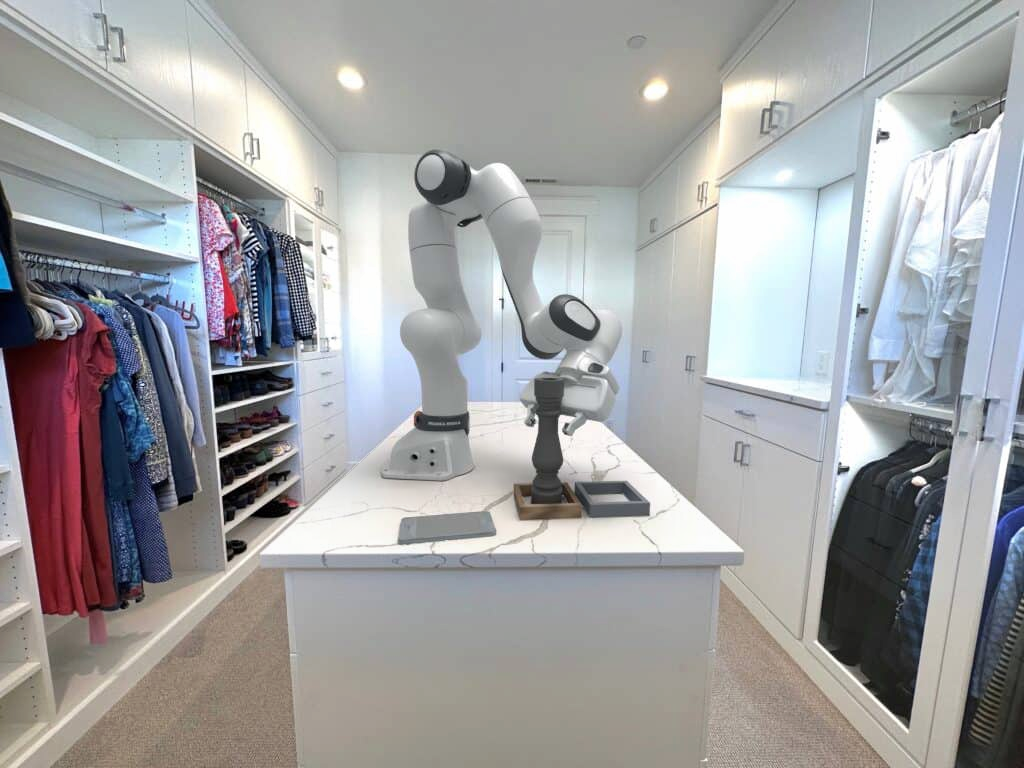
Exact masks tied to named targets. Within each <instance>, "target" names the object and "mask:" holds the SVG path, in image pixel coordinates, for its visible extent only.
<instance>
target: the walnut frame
mask: <svg viewBox="0 0 1024 768" xmlns="http://www.w3.org/2000/svg"><path fill="white" fill-rule="evenodd" d="M561 483H562V484H561V486H560V487H561V488H562V490H563V498H564V499H565V501H566V503H563V502H562V503H559V504H531V503H530V504H525V501H524V498H525V497H528V498H529V497H530V498H531V487H532V486H533V482H525V483H524V482H523V483H522V482H519V483H518V482H517V483H516V482H515V483H513V499H514V503H515V507H516V511H517V514H518V519H519V521H537V520H538V521H539V520H567V519H582V517H583V516H582V511H583V506H582V504H581V503H580V501H579V500H578V498H577V497H576V495H575V493H574V490H573V488H572V487H571V486H570V484H569V482H567V481H564V482H563V481H561Z"/></svg>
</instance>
